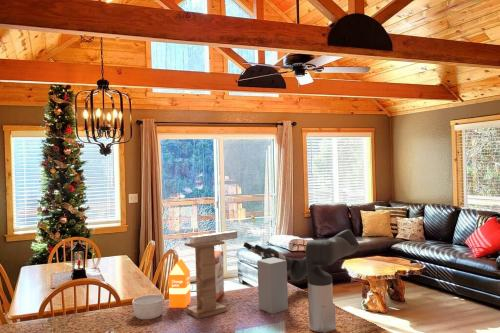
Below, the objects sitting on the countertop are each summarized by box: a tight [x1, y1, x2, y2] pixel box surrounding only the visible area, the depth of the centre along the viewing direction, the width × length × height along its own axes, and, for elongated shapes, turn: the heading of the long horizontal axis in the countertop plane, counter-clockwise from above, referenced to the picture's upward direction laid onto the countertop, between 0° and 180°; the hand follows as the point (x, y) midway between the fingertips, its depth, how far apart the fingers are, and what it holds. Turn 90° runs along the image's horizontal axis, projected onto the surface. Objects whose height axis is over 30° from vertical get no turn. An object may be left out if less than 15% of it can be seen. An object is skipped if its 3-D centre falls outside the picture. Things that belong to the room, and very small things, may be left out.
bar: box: [189, 230, 238, 245], centre depth 190 cm, size 4×22×3 cm, turn 126°
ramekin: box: [131, 294, 165, 320], centre depth 186 cm, size 13×13×7 cm
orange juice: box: [168, 258, 192, 308], centre depth 199 cm, size 8×9×20 cm
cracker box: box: [214, 250, 225, 302], centre depth 209 cm, size 14×6×21 cm, turn 168°
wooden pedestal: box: [184, 240, 228, 320], centre depth 187 cm, size 10×14×30 cm
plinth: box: [256, 257, 289, 314], centre depth 189 cm, size 9×9×21 cm
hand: (249, 245), depth 201 cm, fingers open, 8 cm apart
